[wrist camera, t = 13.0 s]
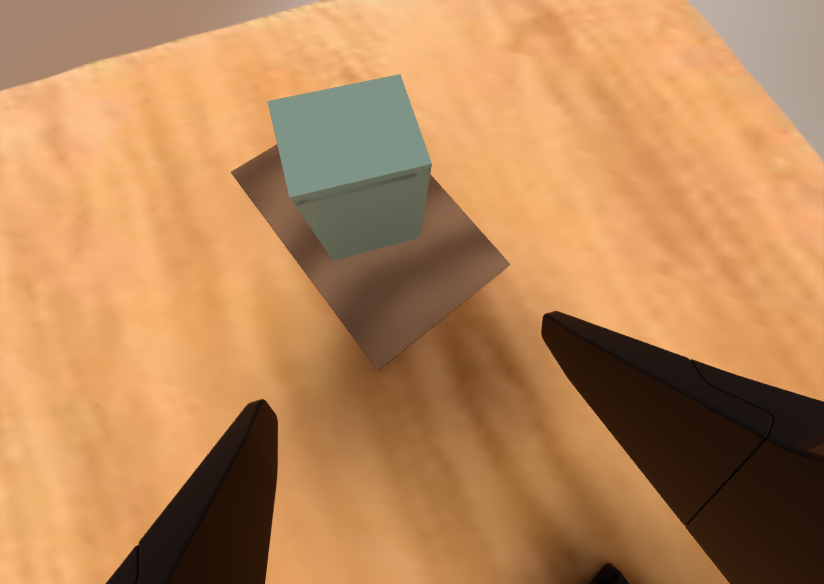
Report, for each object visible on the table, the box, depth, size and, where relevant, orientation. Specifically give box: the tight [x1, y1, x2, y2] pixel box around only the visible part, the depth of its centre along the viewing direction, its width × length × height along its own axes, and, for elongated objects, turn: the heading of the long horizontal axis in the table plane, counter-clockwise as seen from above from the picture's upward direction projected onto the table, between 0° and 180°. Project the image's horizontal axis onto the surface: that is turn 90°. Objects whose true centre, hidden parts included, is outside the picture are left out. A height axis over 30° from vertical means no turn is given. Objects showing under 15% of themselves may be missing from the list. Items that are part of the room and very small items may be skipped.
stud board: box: [231, 145, 510, 370], centre depth 22 cm, size 20×13×5 cm, turn 38°
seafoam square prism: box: [268, 74, 432, 260], centre depth 19 cm, size 6×7×9 cm
